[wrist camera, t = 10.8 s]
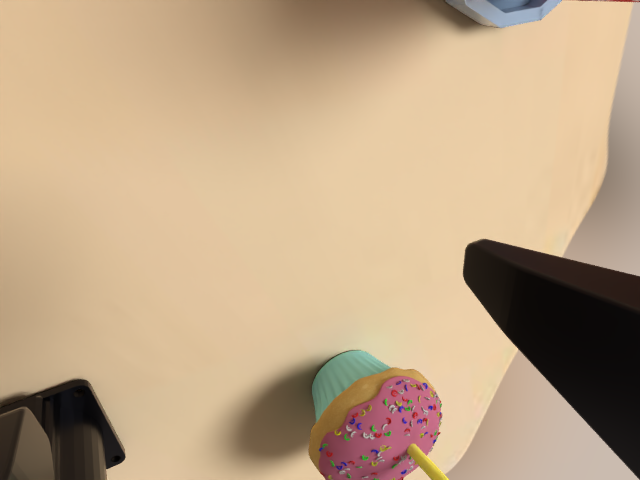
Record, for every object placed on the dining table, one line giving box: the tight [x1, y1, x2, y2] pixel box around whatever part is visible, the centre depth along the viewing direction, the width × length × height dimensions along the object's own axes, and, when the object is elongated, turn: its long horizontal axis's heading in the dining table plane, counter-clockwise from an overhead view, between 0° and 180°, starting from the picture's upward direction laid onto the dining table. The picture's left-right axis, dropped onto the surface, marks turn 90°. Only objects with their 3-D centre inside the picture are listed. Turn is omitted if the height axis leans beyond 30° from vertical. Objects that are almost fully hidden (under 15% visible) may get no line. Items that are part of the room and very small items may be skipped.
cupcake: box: [309, 350, 449, 480], centre depth 27 cm, size 9×8×12 cm
